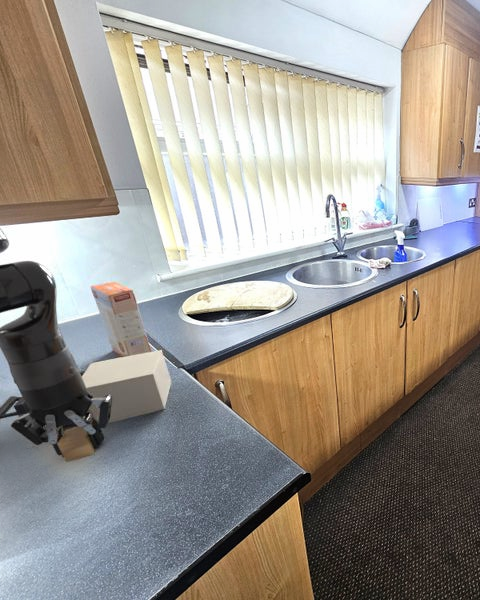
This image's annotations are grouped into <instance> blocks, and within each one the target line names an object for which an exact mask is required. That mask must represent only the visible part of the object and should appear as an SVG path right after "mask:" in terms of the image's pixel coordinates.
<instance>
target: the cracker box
mask: <svg viewBox="0 0 480 600" xmlns="http://www.w3.org/2000/svg"><path fill="white" fill-rule="evenodd" d="M90 290H91V292H92V295H93V298H94V301H95V304H96V307H97V309H98V313H99V315H100V318H101V320H102V324H103V327H104V329H105V332H106V335H107V338H108V341H109V343H110V346H111V350H112V351H113V352H114V353H115V354H117V355H118V356H119V357H120V358H121V357H126V356H131V355H137V354H142V353H147V352H152V348H151V345H150V341H149V338H148V336H147V332H146V329H145V326H144V322H143V320H142V315H141V312H140V309H139V305H138V302H137V299H136V296H135V292H134V289H131V288H129V287H128V286H127V287H126V286H124V285H122V284H120V283H118V282H116V281H109V282H105V283H100V284H95V285H91V286H90Z"/></svg>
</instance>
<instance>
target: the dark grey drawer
mask: <svg viewBox="0 0 480 600" xmlns="http://www.w3.org/2000/svg"><path fill="white" fill-rule="evenodd" d="M85 371H86V370H83V371H79V372H80V374H81V376H83V374H84V373H85ZM12 408H14V410H15V411H13V412H9V411H10V410H11V409H12ZM29 412H30V408H29V407H28V406H27V404H26V402H25V400H24V398H23V396H22V395H21V396H16V395H11V396H10V397H8V399H7V400H5V401H4V403H3V404H2V405H1V406H0V420H2V419H6V418H10V417H16V416H17V417H18V416H19V415H20V414H27V413H29ZM35 422H37V423H38V424H39V425H40V426H42V427H43V428H45V427H46V424H45V423H43V422H40V421H38V420H36V419H35ZM74 424H75V423H70V424H65V425H63V427H65V426H70V425H74Z"/></svg>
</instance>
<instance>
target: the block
mask: <svg viewBox="0 0 480 600" xmlns="http://www.w3.org/2000/svg"><path fill="white" fill-rule="evenodd" d="M57 444H58V446H59V448H60V450H61V452H62V454H63V456H64V460H65V462H66V463H67V462H71V461H74V460H77V459H81V458H84V457H87V456H91V455H94V454H95V451H96V449H94V448H93V445H92V443H91V441H90V439H89V437H88V433H87V432H86V431H85V430H84V429H83V428H79V427H78V426H74V427H71V428H67V429H65V430H64V431H63V433H62V437H61V439H60V440H59V442H58V443H57Z"/></svg>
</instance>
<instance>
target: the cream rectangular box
mask: <svg viewBox="0 0 480 600" xmlns="http://www.w3.org/2000/svg"><path fill="white" fill-rule="evenodd" d="M84 371H85V373H84V374H83V376H82V379H83V381H84V383H85V386H86V389H87V392H88V393H89V394H91V395H92V396H93V397H94V398H104V397H105V396H106V395H112V406H111V414H110V419H109V422H108V424H111V423H114V422H119V421H124V420H127V419H131V418H135V417H140V416H143V415H147V414H151V413H155V412H160V411H162V410H165V409H166V405H167V401H168V397H169V393H170V389H171V386H172V379H171V375H170V371H169V369H168V366H167V362H166V360H165V356H164V353H163V350H162V349H159V350H153V351H151V352H147V353H142V354H137V355H131V356H126V357H121V356H120V357H117V358H111V359H105V360H100V361H95V362H91V363H90V364H89V366H88V367H87V368H86V370H84ZM89 409H90V410H91V411H92V413H93V414H94V417H95V418H96V419H97V420H99V414H100V410H97V409H96V406H95V405H91V406H90V408H89Z"/></svg>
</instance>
